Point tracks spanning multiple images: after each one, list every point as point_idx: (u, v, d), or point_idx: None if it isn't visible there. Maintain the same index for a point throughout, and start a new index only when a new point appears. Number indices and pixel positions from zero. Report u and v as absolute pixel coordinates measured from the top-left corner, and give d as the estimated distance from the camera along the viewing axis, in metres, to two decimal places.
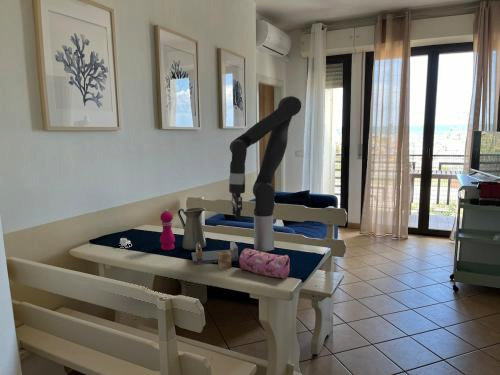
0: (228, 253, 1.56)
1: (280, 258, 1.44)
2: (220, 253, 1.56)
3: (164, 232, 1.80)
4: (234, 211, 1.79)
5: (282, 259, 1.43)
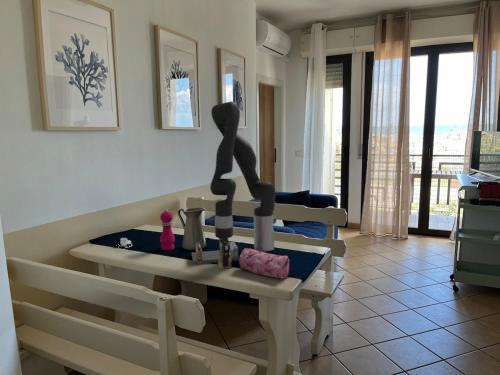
0: None
1: (279, 258, 1.44)
2: (220, 253, 1.56)
3: (164, 232, 1.80)
4: None
5: (281, 259, 1.42)
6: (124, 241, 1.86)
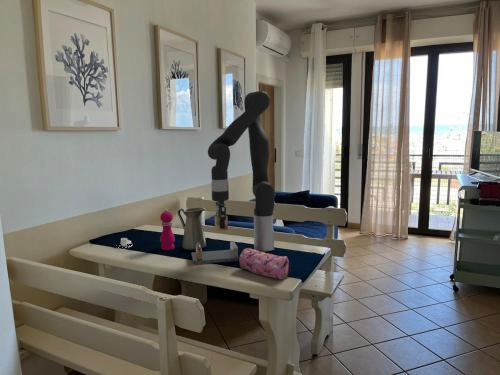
0: None
1: (278, 259, 1.43)
2: (217, 216, 1.63)
3: (164, 232, 1.80)
4: None
5: (280, 260, 1.42)
6: (124, 241, 1.86)
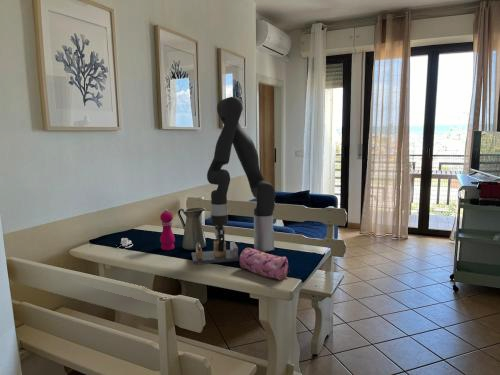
0: None
1: (277, 259, 1.43)
2: (215, 242, 1.66)
3: (164, 232, 1.80)
4: None
5: (278, 260, 1.42)
6: (125, 241, 1.86)
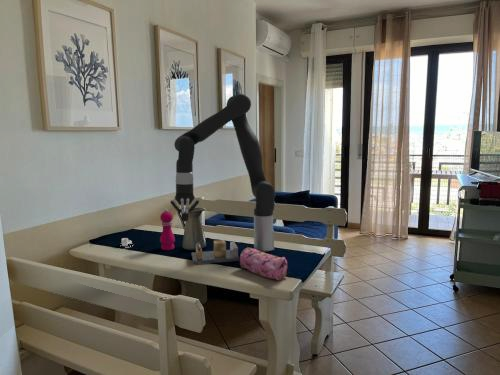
0: (223, 242, 1.66)
1: (276, 259, 1.42)
2: (215, 242, 1.66)
3: (164, 232, 1.80)
4: None
5: (277, 261, 1.41)
6: (125, 241, 1.86)
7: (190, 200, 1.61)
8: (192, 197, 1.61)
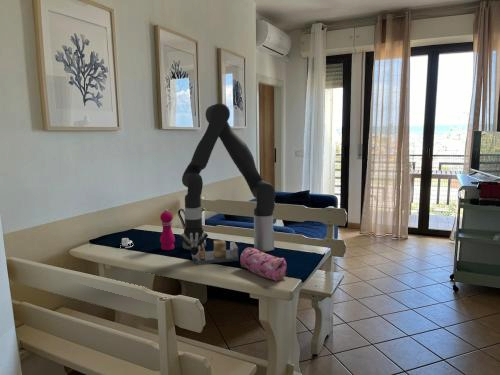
0: (223, 242, 1.66)
1: (274, 260, 1.42)
2: (215, 242, 1.66)
3: (164, 232, 1.80)
4: None
5: (275, 261, 1.41)
6: (125, 241, 1.86)
7: (199, 234, 1.64)
8: (201, 231, 1.64)
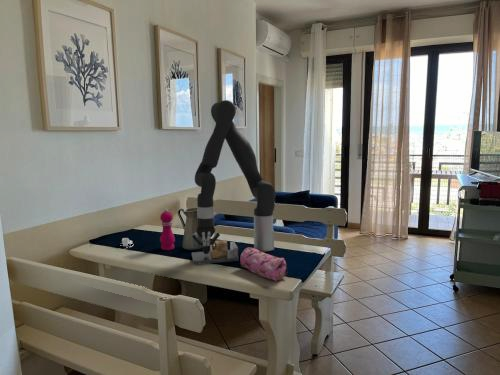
0: (224, 242, 1.66)
1: (274, 260, 1.42)
2: (217, 242, 1.67)
3: (164, 232, 1.80)
4: None
5: (275, 261, 1.41)
6: (125, 241, 1.86)
7: (211, 233, 1.65)
8: (213, 230, 1.65)
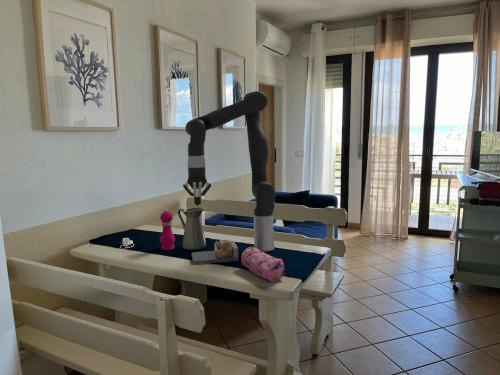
0: (229, 242, 1.67)
1: (271, 260, 1.41)
2: (221, 242, 1.67)
3: (164, 232, 1.80)
4: None
5: (271, 262, 1.40)
6: (126, 241, 1.86)
7: (202, 184, 1.61)
8: (204, 181, 1.61)
